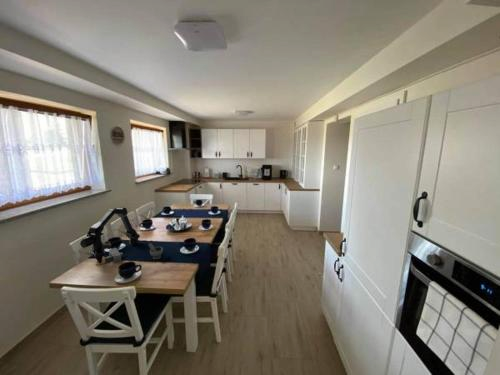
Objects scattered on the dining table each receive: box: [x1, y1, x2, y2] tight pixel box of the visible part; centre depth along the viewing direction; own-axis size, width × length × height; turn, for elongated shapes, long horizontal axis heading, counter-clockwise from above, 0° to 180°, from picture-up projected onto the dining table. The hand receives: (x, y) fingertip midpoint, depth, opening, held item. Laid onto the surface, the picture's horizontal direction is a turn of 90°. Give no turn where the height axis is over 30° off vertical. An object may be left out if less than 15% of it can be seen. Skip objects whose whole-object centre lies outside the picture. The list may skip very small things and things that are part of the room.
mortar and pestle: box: [148, 242, 164, 260], centre depth 171 cm, size 11×9×12 cm
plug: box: [94, 252, 124, 266], centre depth 167 cm, size 19×4×4 cm, turn 133°
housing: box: [108, 247, 122, 264], centre depth 169 cm, size 5×16×6 cm, turn 43°
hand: (99, 260), depth 162 cm, fingers open, 9 cm apart
